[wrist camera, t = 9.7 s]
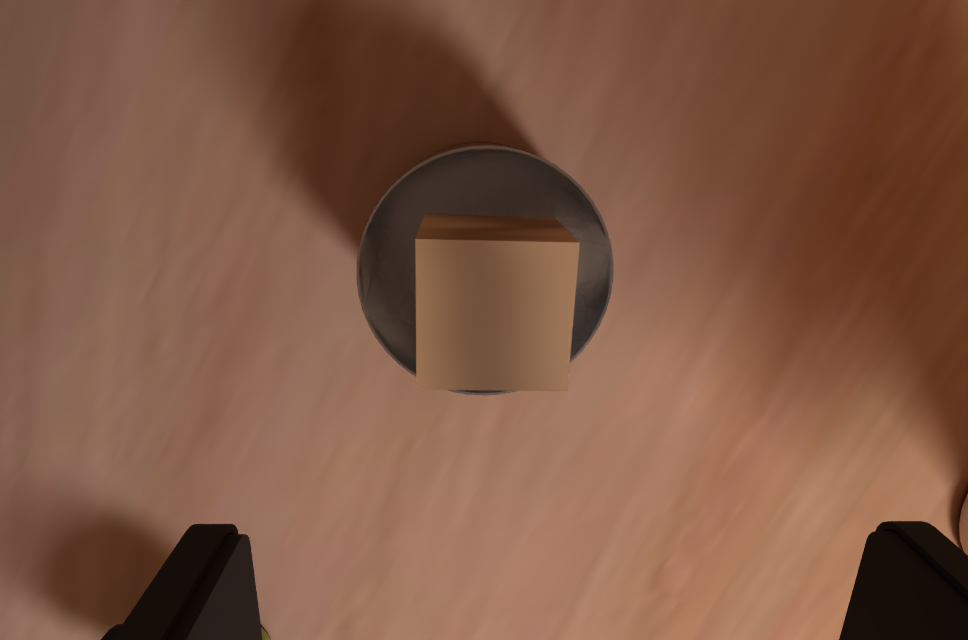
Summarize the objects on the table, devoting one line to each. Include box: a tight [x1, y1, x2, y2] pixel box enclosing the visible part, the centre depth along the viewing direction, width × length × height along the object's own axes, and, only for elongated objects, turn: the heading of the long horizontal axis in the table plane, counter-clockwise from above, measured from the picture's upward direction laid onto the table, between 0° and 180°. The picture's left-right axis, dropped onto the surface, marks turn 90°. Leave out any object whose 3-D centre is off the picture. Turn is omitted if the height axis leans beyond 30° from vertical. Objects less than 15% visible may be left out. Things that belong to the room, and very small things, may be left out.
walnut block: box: [415, 214, 580, 391], centre depth 21 cm, size 5×5×5 cm
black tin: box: [357, 142, 613, 395], centre depth 27 cm, size 10×10×7 cm
